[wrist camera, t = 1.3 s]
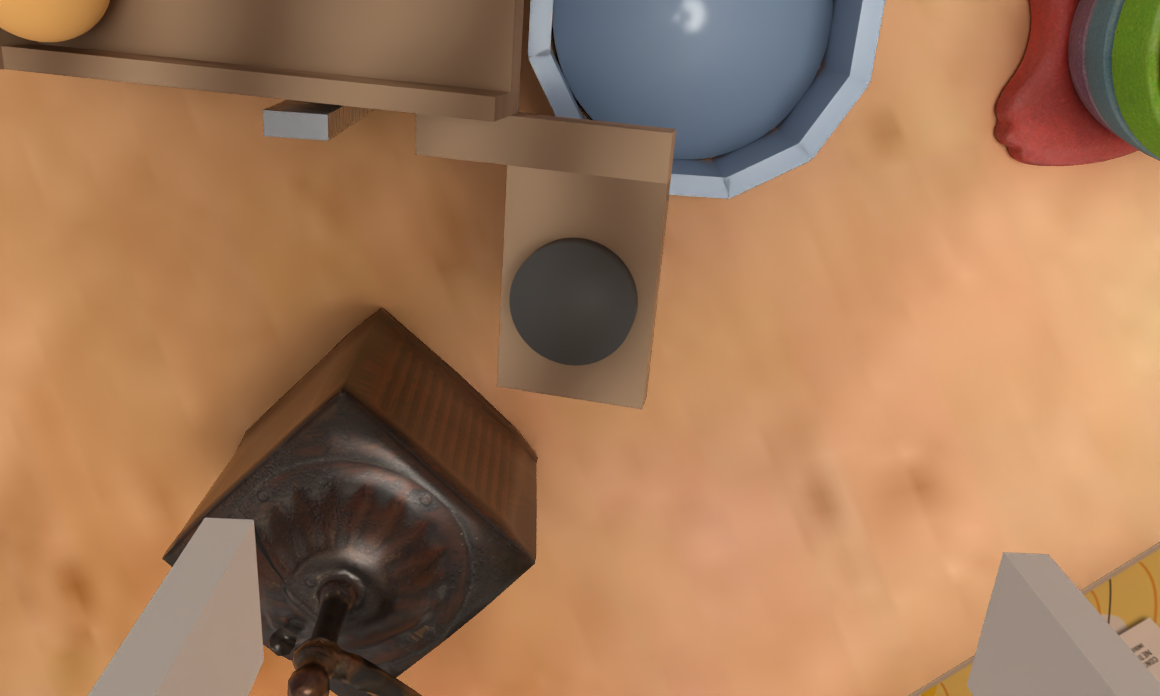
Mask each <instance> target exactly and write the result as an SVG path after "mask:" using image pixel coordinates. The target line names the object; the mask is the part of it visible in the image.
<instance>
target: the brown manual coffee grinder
mask: <svg viewBox="0 0 1160 696" xmlns="http://www.w3.org/2000/svg"><path fill="white" fill-rule="evenodd" d="M537 459H538V458H537V456H536V455H535V453H534V452H533V451H532V449H531V448H530V447H529V445H528V444H527V442H526V441H525V440H524V438H523V437H522V436H521V434H520V433H519V432H518V430H517V429H516V428H515V427H514V426H513V425H512V424H511V423H510V422H509V421H508V420H507V419H506V418H505V417H504V416H503V415H502V414H501V413H500V412H499V411H497V410H496V409H495V408H494V407H493V406H492V405H491V404H490V403H489V402H488V401H487V400H486V399H485V398H484V397H483V396H482V395H481V394H480V393H478V392H477V391H476V390H475V389H474V388H473V387H472V386H471V385H470V384H469V383H468V382H467V381H466V380H465V379H463V378H462V377H461V376H460V375H459V374H458V373H457V372H456V371H455V370H454V369H453V368H452V367H450V366H449V365H448V364H447V363H446V362H445V361H443V360H442V359H441V358H440V357H439V356H438V355H437V354H435V353H434V352H433V351H432V350H431V349H430V348H428V347H427V346H426V345H425V344H424V343H423V342H421V341H420V340H419V339H418V338H417V337H416V336H414V335H413V334H412V333H411V332H410V331H409V330H407V329H406V328H405V327H404V326H403V325H402V324H401V323H399V322H398V321H397V320H396V319H395V318H394V317H392V316H391V315H390V314H389V313H388V312H387V311H385V310H384V309H383V308H382V309H381V310H379V311H378V312H377V313H375V314H374V315H373V316H372V317H370V318H369V319H368V320H366V321H365V322H364V323H362V324H361V325H360V326H359V327H357V328H356V329H355V330H353V331H352V332H351V333H349V334H348V335H347V336H346V337H345V338H344V339H343V340H342V341H341V342H340V343H339V344H338V345H337V346H336V347H335V348H334V349H333V350H332V351H331V352H330V353H329V354H328V355H326V356H325V357H324V358H323V359H322V360H321V361H320V362H319V363H318V364H317V365H316V366H315V367H314V368H313V369H312V370H310V371H309V372H308V373H307V374H306V375H305V376H304V377H303V378H302V379H301V380H300V381H299V382H298V383H297V384H296V385H294V386H293V387H292V388H291V389H290V390H289V391H288V392H287V393H286V394H285V395H284V396H283V397H282V398H281V399H279V400H278V401H277V402H276V403H275V404H274V405H273V406H272V407H271V408H270V409H269V410H268V411H267V412H266V413H265V414H264V415H263V416H262V417H261V418H260V419H259V420H258V421H257V422H256V423H255V424H254V425H252V426H251V427H250V428H249V429H248V430H247V431H246V433H245V435H244V437H243V439H242V441H241V443H240V445H239V447H238V449H237V451H236V452H235V454H234V456H233V458H232V459H231V461H230V462H229V464H228V465H227V466H226V468H225V469H224V470H223V472H222V473H221V475H220V476H219V477H218V479H217V480H216V482H215V483H214V485H213V486H212V487H211V489H210V490H209V492H208V493H207V494H206V496H205V497H204V499H203V500H202V502H201V503H200V504H199V506H198V507H197V509H196V510H195V512H194V513H193V515H192V516H191V518H190V519H189V521H188V522H187V524H186V525H185V527H184V528H183V530H182V531H181V532H180V534H179V535H178V536H177V538H176V539H175V540H174V542H173V543H172V544H171V546H170V547H169V548H168V550H167V551H166V552H165V554H164V556H163V558H162V559H163V560H165V561H166V562H167V563H168V564H170V565H171V566H172V567H173V565H174V564H175V562H176V561H177V559H178V558H179V556H180V555H181V553H182V552H183V550H184V549H185V547H186V546H187V544H188V543H189V541H190V539H191V538H192V536H193V535H194V533H195V532H196V530H197V529H198V527H199V526H200V524H201V523H202V521H203V520H204V518H225V519H248V520H254V528H255V542H256V556H257V570H258V584H259V598H260V611H261V625H262V639H263V644H264V645H265V646H266V647H268V648H269V649H270V650H272V651H273V652H274V653H275V654H276V655H278V656H283V657H285V658H287V659H289V660H292V662H293V665H294V668H295V670H296V671H294V672H293V673H292V675H291V677H290V679H289V680H288V694H287V695H288V696H328V695H329V690H331V691H333V692H334V693H335V694H337V695H338V696H421V695H420V694H419V693H417V692H416V691H415V690H413V689H412V688H410V687H409V686H407V685H406V684H404V683H403V682H401V681H399V680H398V679H396V677H398V676H399V675H400V674H401V673H403V672H404V671H405V670H407V669H408V668H409V667H411V666H412V665H413V664H415V663H416V662H417V661H419V660H420V659H421V658H423V657H424V656H425V655H426V654H428V653H429V652H430V651H432V650H433V649H434V648H436V647H437V646H438V645H440V644H441V643H442V642H444V641H445V640H446V639H447V638H449V637H450V636H451V635H452V634H453V633H455V632H456V631H457V630H458V629H459V628H461V627H462V626H463V625H464V624H466V623H467V622H468V621H469V620H470V619H472V618H473V617H474V616H475V615H477V614H478V613H479V612H480V611H481V610H483V609H484V608H485V607H486V606H487V605H488V604H490V603H491V602H492V601H493V600H494V599H495V598H496V597H497V596H499V595H500V594H501V593H502V592H503V591H504V590H505V589H506V588H508V587H509V586H510V585H511V584H512V583H513V582H514V581H516V580H517V579H518V578H519V577H520V576H521V575H522V574H523V573H525V572H526V571H527V570H528V569H529V568H530V567H531V566H532V565H534V564H535V559H536V511H537V499H536V462H537Z"/></svg>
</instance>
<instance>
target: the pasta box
mask: <svg viewBox="0 0 1160 696" xmlns="http://www.w3.org/2000/svg"><path fill="white" fill-rule="evenodd" d="M1081 593H1082V594H1083V595H1084V596H1085V597H1086V598H1087V599H1088V601H1089V602H1090V603H1091V604H1092V605H1093V606H1094V608H1095V609H1096V610H1097V611H1098V612H1099V613H1100V614H1101V616H1102V617H1103V618H1104V619H1105V620H1106V621H1107V623H1108V624H1109V625H1110V626H1111V627H1112V628H1113V629H1114V631H1115V632H1116V633H1117V634H1118V635H1119V636H1120V638H1121V639H1122V640H1123V641H1124V642H1125V643H1126V644H1127V646H1128V647H1129V648H1130V649H1131V650H1132V651H1133V653H1134V654H1135V655H1136V656H1137V657H1138V658H1139V659H1140V661H1141V662H1142V663H1143V664H1144V665H1145V666H1146V668H1147V669H1148V670H1149V671H1150V672H1151V673H1152V674H1153V676H1154V677H1155V678H1156V679H1157V680H1158V681H1159V683H1160V542H1159V543H1158V544H1156V545H1154V546H1153V547H1151V548H1150V549H1148V550H1146V551H1145V552H1143V553H1141V554H1140V555H1138V556H1136V557H1135V558H1133V559H1132V560H1130V561H1128V562H1127V563H1125V564H1123V565H1122V566H1120V567H1118V568H1117V569H1115V570H1114V571H1112V572H1110V573H1109V574H1107V575H1105V576H1104V577H1102V578H1100V579H1099V580H1097V581H1096V582H1094V583H1092V584H1091V585H1089V586H1087V587H1086V588H1084V589H1082V590H1081ZM974 657H975V655H974V656H973V657H971V658H970V659H968V660H966V661H965V662H963V663H961V664H960V665H958V666H956V667H955V668H953V669H952V670H950V671H948V672H947V673H945V674H943V675H942V676H940V677H938V678H937V679H935V680H934V681H932V682H930V683H929V684H927V685H925V686H924V687H922V688H920V689H919V690H917V691H916V692H914V693H912V694H911V695H909V696H973V695H972V693H971V692H970V690H969V688H968V687H967V682H968V678H969V675H970V671H971V668H972V664H973V660H974Z"/></svg>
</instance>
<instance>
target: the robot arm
mask: <svg viewBox="0 0 1160 696" xmlns="http://www.w3.org/2000/svg"><path fill="white" fill-rule="evenodd" d="M263 661H264V653H263V639H262V625H261V611H260V598H259V584H258V570H257V556H256V542H255V528H254V520H248V519H225V518H204V520H203V521H202V523H201V524H200V526H199V527H198V529H197V530H196V532H195V533H194V535H193V536H192V538H191V539H190V541H189V543H188V544H187V546H186V547H185V549H184V550H183V552H182V553H181V555H180V556H179V558H178V559H177V561H176V562H175V564H174V565H173V567H172V568H171V570H170V571H169V573H168V574H167V576H166V577H165V579H164V580H163V582H162V584H161V585H160V587H159V588H158V590H157V591H156V593H155V594H154V596H153V597H152V599H151V600H150V602H149V603H148V605H147V606H146V608H145V609H144V611H143V612H142V614H141V615H140V617H139V618H138V620H137V622H136V623H135V625H134V626H133V628H132V629H131V631H130V632H129V634H128V635H127V637H126V638H125V640H124V641H123V643H122V644H121V646H120V647H119V649H118V650H117V652H116V653H115V655H114V656H113V658H112V659H111V661H110V663H109V664H108V666H107V667H106V669H105V670H104V672H103V673H102V675H101V676H100V678H99V679H98V681H97V682H96V684H95V685H94V687H93V688H92V690H91V691H90V693H89V694H88V696H248V695H249V693H250V691H251V688H252V686H253V684H254V681H255V679H256V677H257V675H258V672H259V670H260V668H261V665H262V663H263ZM967 687H968V688H969V690H970V692H971V693H972V695H973V696H1160V683H1159V681H1158V680H1157V679H1156V678H1155V677H1154V676H1153V674H1152V673H1151V672H1150V671H1149V670H1148V669H1147V668H1146V666H1145V665H1144V664H1143V663H1142V662H1141V661H1140V659H1139V658H1138V657H1137V656H1136V655H1135V654H1134V653H1133V651H1132V650H1131V649H1130V648H1129V647H1128V646H1127V644H1126V643H1125V642H1124V641H1123V640H1122V639H1121V638H1120V636H1119V635H1118V634H1117V633H1116V632H1115V631H1114V629H1113V628H1112V627H1111V626H1110V625H1109V624H1108V623H1107V621H1106V620H1105V619H1104V618H1103V617H1102V616H1101V614H1100V613H1099V612H1098V611H1097V610H1096V609H1095V608H1094V606H1093V605H1092V604H1091V603H1090V602H1089V601H1088V599H1087V598H1086V597H1085V596H1084V595H1083V594H1082V593H1081V591H1080V590H1079V589H1078V588H1077V587H1076V586H1075V584H1074V583H1073V582H1072V581H1071V580H1070V579H1069V578H1068V576H1067V575H1066V574H1065V573H1064V572H1063V571H1062V569H1061V568H1060V567H1059V566H1058V565H1057V564H1056V563H1055V561H1054V560H1053V559H1052V558H1051V557H1050V556H1049V554H1030V553H1007V552H1003V555H1002V559H1001V562H1000V566H999V570H998V573H997V577H996V581H995V584H994V588H993V591H992V595H991V599H990V602H989V606H988V610H987V613H986V617H985V620H984V624H983V628H982V631H981V635H980V639H979V642H978V646H977V649H976V653H975V657H974V660H973V664H972V668H971V671H970V675H969V678H968V682H967Z"/></svg>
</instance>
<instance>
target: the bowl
mask: <svg viewBox="0 0 1160 696" xmlns="http://www.w3.org/2000/svg"><path fill="white" fill-rule="evenodd" d="M884 4H885V0H554V2H553V0H531V2H530V21H529V40H528V56H529V57H528V59H529V61H530V63H531V66H532V68H533V70H534V72H535V74H536V76H537V78H538V80H539V82H540V84H541V86H542V88H543V91H544V93H545V95H546V97H547V99H548V101H549V103H550V105H551V107H552V109H553V111H554V113H555V116H557V117H567V118H576V119H586V120H590V119H589V118H587V117H586V116H585V115H583V114H582V112H581V110H580V108H579V106H578V104H577V102H576V100H575V98H576V99H577V101H578V102H579V103H580V105H581V106H582V107H583V109H584V110H585V112H586V113H587V114H588V115H589V116H590V117H591V118H592V119H593V120H595V121H605V122H614V123H624V124H633V125H643V126H652V127H662V128H671V129H676V138H675V147H674V155H673V164H672V173H671V182H670V191H669V195H681V196H695V197H709V198H723V199H728V197H729V198H732V197H734V196H736V195H739V194H741V193H743V192H745V191H747V190H749V189H751V188H753V187H756V186H758V185H760V184H762V183H764V182H766V181H768V180H770V179H773V178H775V177H777V176H779V175H781V174H783V173H785V172H788V171H790V170H792V169H794V168H796V167H798V166H800V165H802V164H805V163H807V162H809V161H810V158H811V159H813V158H814V156H815V155H816V154H817V152H818V151H819V150H820V148H821V147H822V146H823V145H824V143H825V142H826V141H827V139H828V138H829V137H830V135H831V134H832V133H833V131H834V130H835V129H836V128H837V126H838V125H839V124H840V122H841V121H842V120H843V118H844V117H845V116H846V114H847V113H848V112H849V111H850V109H851V108H852V107H853V105H854V104H855V103H856V101H857V100H858V99H859V97H860V96H861V95H862V93H863V92H864V91H865V90H866V88H867V87H868V86H869V84H868V83H870V80H871V75H872V69H873V64H874V59H875V53H876V48H877V42H878V37H879V31H880V26H881V20H882V15H883V10H884ZM552 14H553V32H554V40H555V47H556V51H557V55H558V59H559V63H560V65H559V63H558V61H557V59H556V57H555V55H554V53H553V50H552V48H551V30H552ZM820 65H821V66H820ZM560 66H561V68H562V70H561V68H560ZM562 71H563V72H562ZM866 82H867V83H866ZM572 92H573V93H572ZM573 94H574V95H573ZM574 96H575V97H574ZM774 127H776V128H775V129H773V128H774ZM772 129H773V130H772ZM715 156H716V157H715ZM710 157H714V158H712V159H702V158H710Z"/></svg>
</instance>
